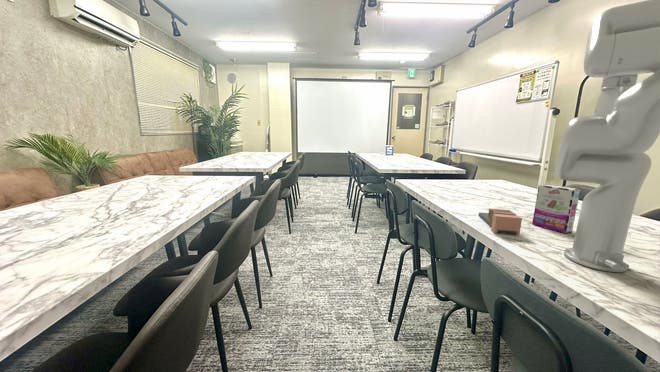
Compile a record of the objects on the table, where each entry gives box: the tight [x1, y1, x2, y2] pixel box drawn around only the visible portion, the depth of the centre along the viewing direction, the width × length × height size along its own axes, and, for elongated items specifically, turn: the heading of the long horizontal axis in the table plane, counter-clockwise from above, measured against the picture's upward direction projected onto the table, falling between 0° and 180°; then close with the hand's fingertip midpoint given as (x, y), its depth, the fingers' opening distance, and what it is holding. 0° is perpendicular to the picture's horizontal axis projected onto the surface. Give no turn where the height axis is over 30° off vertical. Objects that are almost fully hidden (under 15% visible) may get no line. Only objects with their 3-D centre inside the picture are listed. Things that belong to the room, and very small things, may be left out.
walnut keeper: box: [487, 208, 517, 224], centre depth 97 cm, size 6×7×5 cm
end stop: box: [490, 214, 523, 237], centre depth 92 cm, size 3×8×6 cm, turn 76°
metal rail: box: [478, 212, 517, 236], centre depth 102 cm, size 22×6×2 cm, turn 166°
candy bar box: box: [532, 184, 581, 234], centre depth 97 cm, size 11×5×16 cm, turn 25°
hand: (605, 142), depth 86 cm, fingers closed
